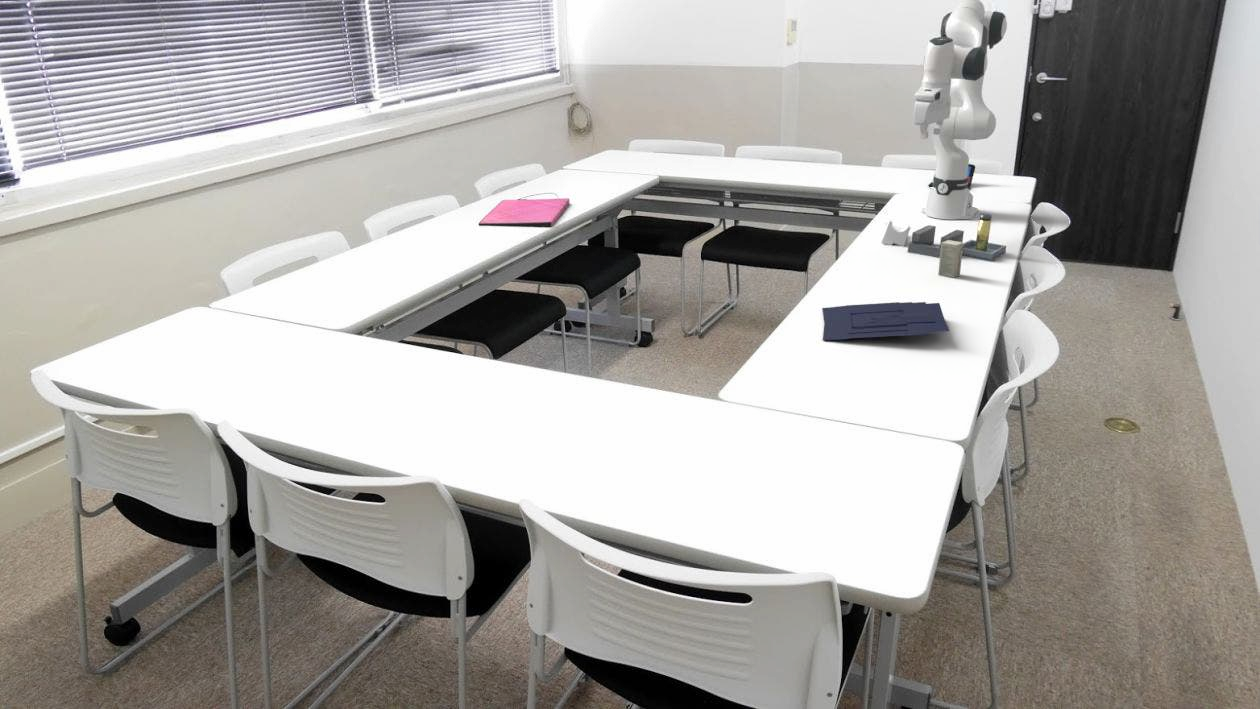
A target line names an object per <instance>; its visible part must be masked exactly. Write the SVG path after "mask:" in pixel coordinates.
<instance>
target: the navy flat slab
mask: <svg viewBox="0 0 1260 709" xmlns="http://www.w3.org/2000/svg"><path fill="white" fill-rule="evenodd" d="M821 309H822V316H823V317H822V318H823V322H824V325H823V332H822V333H823V334H822V335H823V336H822V341H835V340H836V341H838V340H849V339H859V338H860V339H864V338H879V337H880V338H881V337H899V336H904V337H907V336H908V337H909V336H910V337H911V336H921V335H933V334H934V335H935V334H936V333H937V332H938V333H940V332H949V331H950V328H949V326H948V323H947V321H946V319H945V316H944V313H943V310H942V307H941V304H940V303H939V302H933V303H927V302H926V301H922V302H912V301H907V302H905V301H904V302H900V301H899V302H895V301H894V302H882V303H880V302H879V303H866V304H865V303H864V304H850V305H849V304H848V305H840V306H830V307H822V308H821Z"/></svg>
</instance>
